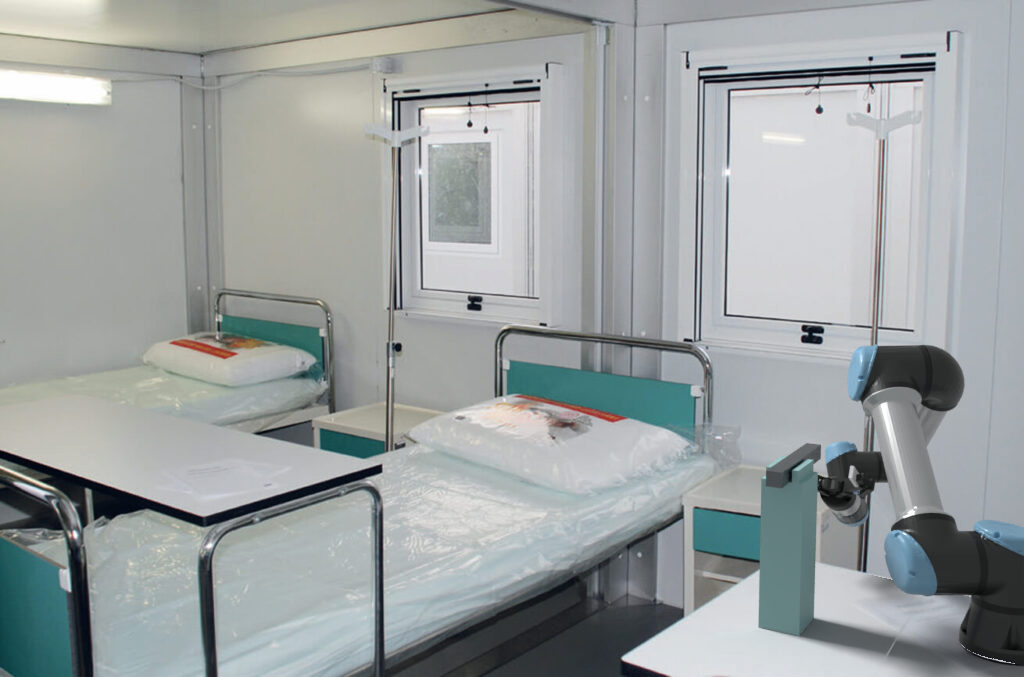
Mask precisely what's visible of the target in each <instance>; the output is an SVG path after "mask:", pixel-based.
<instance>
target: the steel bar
mask: <svg viewBox="0 0 1024 677" xmlns="http://www.w3.org/2000/svg"><path fill="white" fill-rule="evenodd" d="M821 456H822V444H818V443H810V442H809V443H808V442H806V443H805V444H803V445H801V446H800V447H798V448H797V449H795V450H794V451H793V452H791V453H790V454H788V455H787V457H785V458H784V459H782V460H781V461H780V462H778V463H777V464H775V465H774V466H772V467H771V468H769V469H768V470H766V469H765V470H766V471H765V476H766V486H767V487H775V488H783V487H784V486H785V485H787V484H788V483H789V482H791V481H792V470H793V469H795V468H796V467H797V466H799V465H800V464H801V463H803V462H804V461H806V460H807V459H811V460H814V465H815V464H816V463H817V462H818V461H821Z"/></svg>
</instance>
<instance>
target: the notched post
mask: <svg viewBox="0 0 1024 677" xmlns="http://www.w3.org/2000/svg"><path fill="white" fill-rule="evenodd" d="M787 456H788V455H787ZM787 456H786V455H785V456H784V455H782V456H780V457H779V458H777V459H776V460H774V461H772V463H770V464H768V465H767V466H766V468H765V470H768V469H769V468H771V467H772V466H774V465H775V464H777V463H778V462H780V461H781V460H782V459H784V458H785V457H787ZM814 465H815V464H814V460H811V459H807V460H806V461H804V462H803V463H801V464H800V465H799V466H797V467H796V468H795V469H793V470H792V481H791V482H789V483H788V484H787V485H785V486H784V487H783V488H775V487H767V486H766V475H764V476H763V477H762V478H761V486H760V487H761V488H760V489H761V490H760V492H761V493H760V530H759V531H760V533H759V537H760V538H759V539H760V541H759V574H758V575H759V578H758V579H759V582H758V585H759V586H758V587H759V588H758V591H759V592H758V621H757V622H758V628H761V629H764V630H765V629H766V630H771V631H774V632H779V633H784V634H788V635H794V636H798V637H799V636H800V635H801V634H802V633H803V632H804V631H805V629H807V627H808V626H809V625H810V624H811V622H812V621H813V620H814V619H815V592H816V591H815V587H816V559H817V558H816V555H817V554H816V551H817V521H818V517H817V514H818V513H817V512H818V492H817V486H818V475H819V472H818V471H814Z"/></svg>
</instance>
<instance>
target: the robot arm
mask: <svg viewBox="0 0 1024 677" xmlns="http://www.w3.org/2000/svg"><path fill="white" fill-rule="evenodd" d="M965 386H966V384H965V375H964V372H963V370H962V367H961V366H960V364H959V362H958V361H957V360H956V358H955V357H954V356H952V354H950V353H949V352H948V351H946V350H945V349H943V348H942V347H941V348H940V347H938V346H934V345H931V344H930V345H929V344H919V345H917V344H916V345H915V344H914V345H911V344H910V345H909V344H907V345H878V344H877V343H875V344H874V345H862V346H859V347H857V348H855V350H854V351H853V353H852V356H851V358H850V362H849V366H848V374H847V392H848V397H849V398H850V400H852V401H855V402H857V403H858V402H859V401H860V403H861V407H862V411H863V413H865V414H866V415H867V416H869V417H871V418H872V420H873V424H874V428H875V432H876V437H877V440H878V446H879V449H880V451H877V450H876V451H869V450H868V451H863V450H862V451H858V446H856V444H855V442H851V441H847V440H844V441H843V440H841V441H837V442H833V443H830V444H828V446H826V447H825V450H824V452H825V453H824V454H825V455H824V456H825V457H824V458H825V467H826V473H827V477H825V476H824V475H820V474H818V486H817V493H819V496H820V499H821V500H822V502H823V503H824V504H825V506H827V507H828V508H829V510H830V511H831V512H832V514H833V515H834V517H835V518H836V519H837V521H838V522H839V523H842V524H843V525H844V526H847V527H851V528H852V527H853V528H855V527H860V526H862V525H863V524H864V523H866V521H867V520H868V517H869V513H870V511H869V507H868V503H867V502H866V500H865V499H866V496H868V495H870V494H871V493H873V492H874V491H875V488H876V487H875V486H876V484H877V483H878V484H879V483H880V484H885V483H886V484H887V483H888V484H887V485H888V488H889V492H890V496H891V502H892V504H893V510H894V513H895V514H894V515H895V518H896V519H895V520H894V522H892V524H891V525H890V531H889V532H888V533H887V534H886V536H885V539H884V547H883V548H884V552H885V554H884V558H885V564H886V567H887V570H888V573H889V575H890V578H891V580H892V581H893V583H894V585H895V586H896V587H897V588H898V589H899V590H901V592H903V593H905V594H908V595H914V596H915V595H917V596H924V597H932V596H970V604H969V605H968V609H967V610H966V613H965V615H964V617H963V620H962V622H961V624H960V626H959V633H958V642H959V641H960V643H961V644H962V645H963V646H964V647H965V648H966V649H968V650H970V651H971V652H974V653H976V654H979V655H981V656H985V657H988V658H992V659H993V658H994V659H998V660H1003V661H1006V662H1011V663H1015V664H1021V665H1020V666H1023V665H1024V527H1023V526H1020V525H1019V524H1014V523H1009V522H1005V521H1001V520H992V519H991V520H990V519H981V520H977V521H976V522H975V523H974V525H973V528H972V529H973V530H959V529H958V526H957V522H956V519H955V517H954V516H953V515H951V514H950V513H948V512H946V511H944V508H943V507H944V506H943V503H942V500H941V496H940V492H939V489H938V488H939V487H938V484H937V481H936V477H935V474H934V470H933V466H932V463H931V458H930V454H929V451H928V445H929V444H930V443H931V440H932V439H933V437H934V436H935V434H936V431H937V430H938V429H939V426H940V425H941V423H942V421H943V420H944V418H945V416H947V415H946V414H947V413H948V412H951V411H952V410H955V408H956V407H957V406H958V405H959V403H960V401H961V399H962V397H963V395H964V392H965V391H964V390H965ZM960 643H959V644H960ZM961 644H960V645H961ZM966 649H965V650H966ZM1015 664H1014V665H1015ZM1022 664H1023V665H1022Z"/></svg>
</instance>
